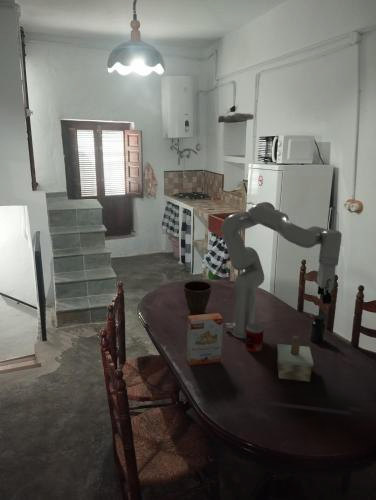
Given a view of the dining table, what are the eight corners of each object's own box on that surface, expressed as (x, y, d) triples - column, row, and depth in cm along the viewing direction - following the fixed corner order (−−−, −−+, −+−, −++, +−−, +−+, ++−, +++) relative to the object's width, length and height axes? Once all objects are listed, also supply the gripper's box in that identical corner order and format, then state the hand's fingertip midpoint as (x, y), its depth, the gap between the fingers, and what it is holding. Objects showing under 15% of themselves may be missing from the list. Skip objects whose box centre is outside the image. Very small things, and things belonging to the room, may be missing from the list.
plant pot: (211, 319, 204) (212, 291, 200) (183, 318, 205) (183, 290, 200) (210, 307, 219) (211, 281, 215) (183, 307, 219) (184, 280, 215)
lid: (278, 362, 150) (280, 344, 148) (277, 346, 163) (278, 328, 161) (313, 366, 148) (315, 347, 146) (308, 349, 161) (310, 331, 159)
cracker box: (189, 366, 161) (190, 321, 155) (186, 359, 167) (187, 315, 161) (221, 362, 164) (223, 318, 159) (217, 355, 170) (218, 312, 164)
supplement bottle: (325, 344, 181) (328, 321, 178) (310, 342, 182) (312, 319, 179) (323, 337, 188) (326, 314, 184) (308, 335, 189) (311, 313, 186)
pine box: (278, 380, 153) (280, 362, 151) (276, 363, 164) (278, 347, 162) (309, 383, 151) (311, 365, 149) (305, 366, 163) (307, 349, 160)
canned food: (263, 346, 178) (264, 325, 175) (260, 355, 171) (262, 333, 168) (246, 343, 180) (248, 322, 177) (243, 352, 173) (244, 330, 170)
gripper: (315, 253, 167) (310, 290, 171) (323, 266, 150) (318, 306, 155) (333, 254, 166) (328, 291, 170) (343, 267, 149) (338, 307, 154)
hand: (323, 298), depth 162 cm, fingers open, 9 cm apart
